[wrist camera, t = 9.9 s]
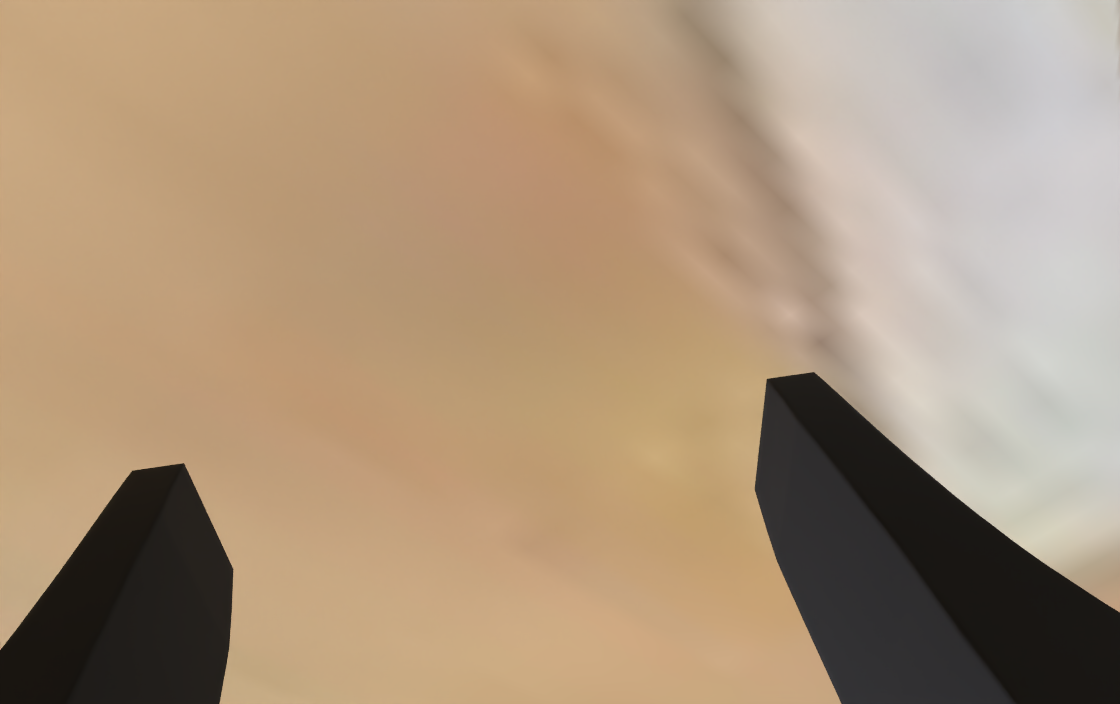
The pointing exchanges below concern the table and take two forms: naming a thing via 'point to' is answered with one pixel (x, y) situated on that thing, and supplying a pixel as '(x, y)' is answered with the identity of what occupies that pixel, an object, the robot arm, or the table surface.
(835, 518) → the robot arm
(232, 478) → the table surface
